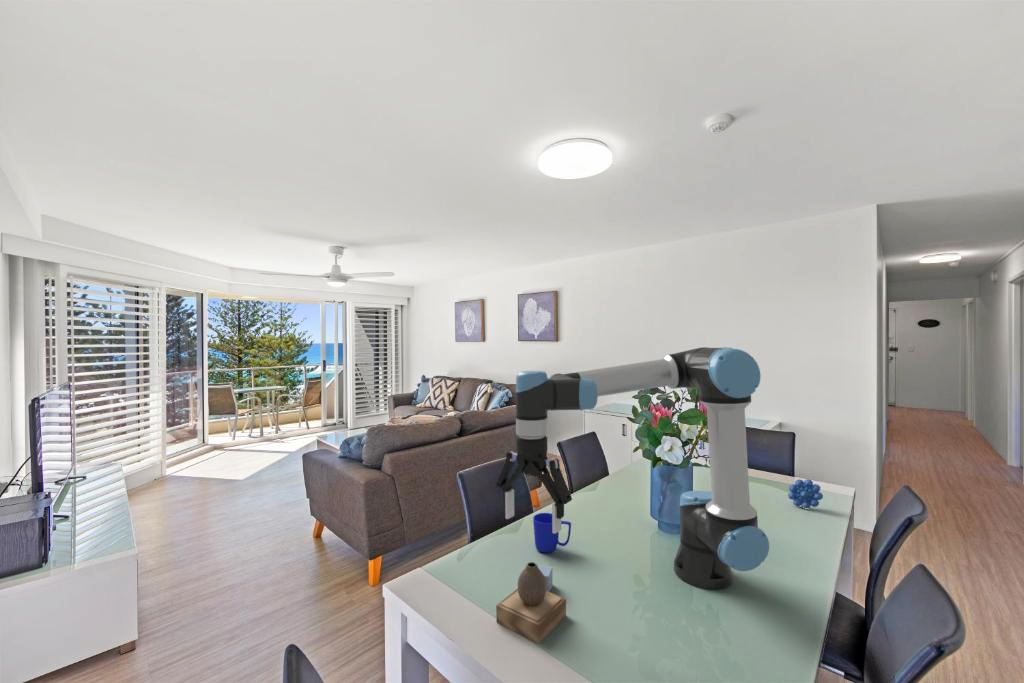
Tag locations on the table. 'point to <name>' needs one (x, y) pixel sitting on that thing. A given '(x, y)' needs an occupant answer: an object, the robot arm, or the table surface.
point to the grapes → (805, 493)
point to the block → (547, 576)
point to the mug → (547, 533)
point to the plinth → (531, 615)
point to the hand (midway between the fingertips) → (532, 524)
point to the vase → (531, 585)
